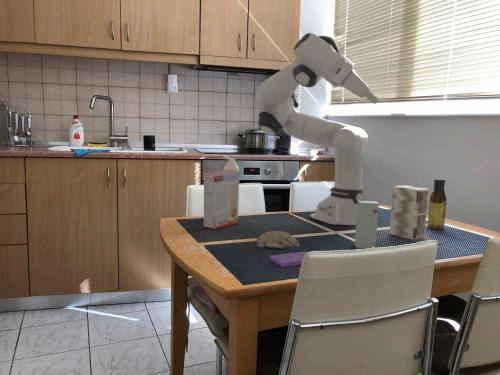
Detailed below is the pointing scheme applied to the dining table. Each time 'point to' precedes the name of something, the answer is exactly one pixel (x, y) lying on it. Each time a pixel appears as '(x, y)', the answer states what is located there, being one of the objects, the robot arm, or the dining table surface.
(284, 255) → the sponges
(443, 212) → the sauce bottle
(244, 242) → the dining table surface
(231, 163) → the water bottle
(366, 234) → the pale green block
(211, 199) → the cracker box
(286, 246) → the grey lumpy flat piece
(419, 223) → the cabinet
